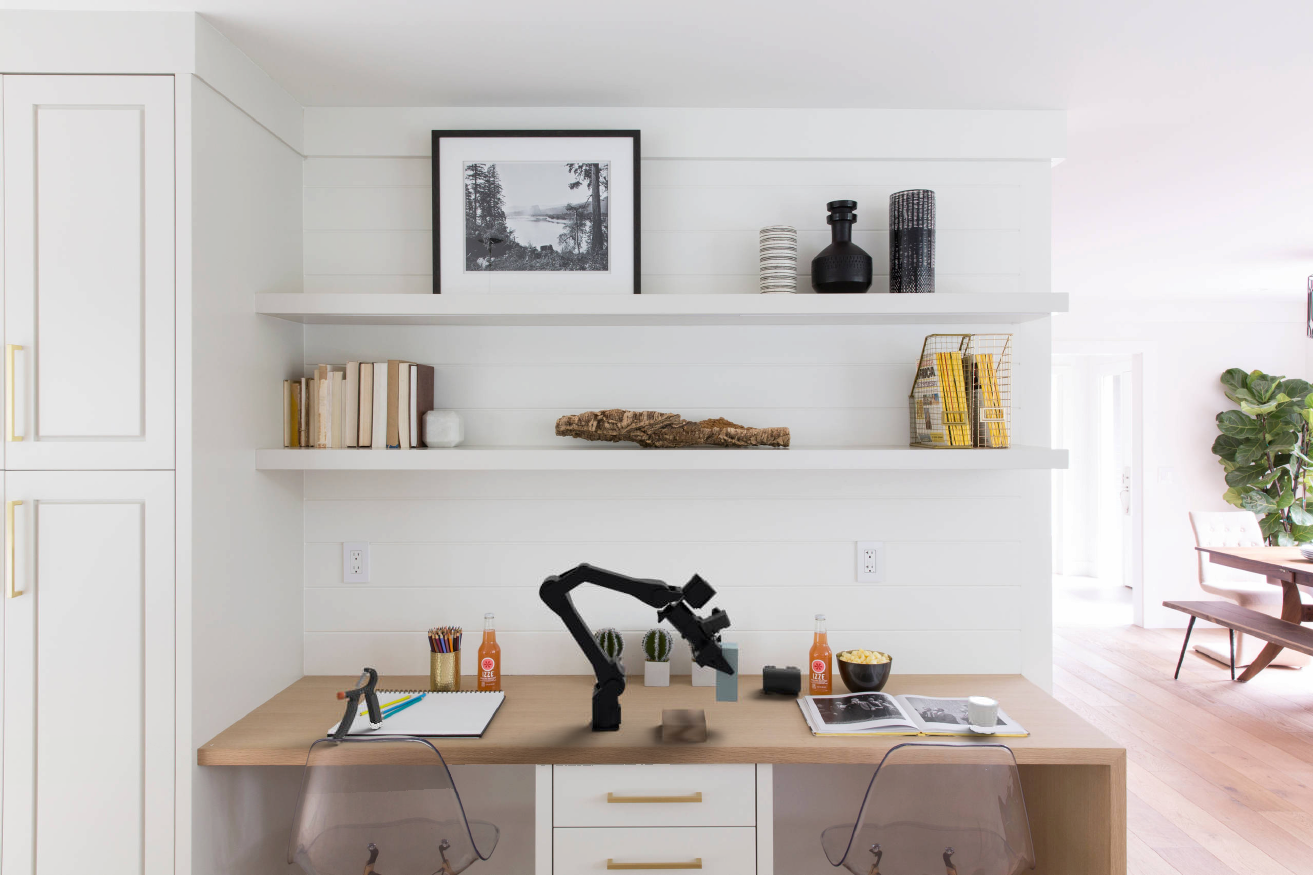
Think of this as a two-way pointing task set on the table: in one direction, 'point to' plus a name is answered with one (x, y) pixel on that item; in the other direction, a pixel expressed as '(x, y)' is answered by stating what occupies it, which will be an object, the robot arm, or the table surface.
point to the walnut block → (683, 725)
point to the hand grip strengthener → (354, 700)
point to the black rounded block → (781, 680)
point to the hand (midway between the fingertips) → (732, 670)
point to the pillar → (726, 682)
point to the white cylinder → (982, 711)
